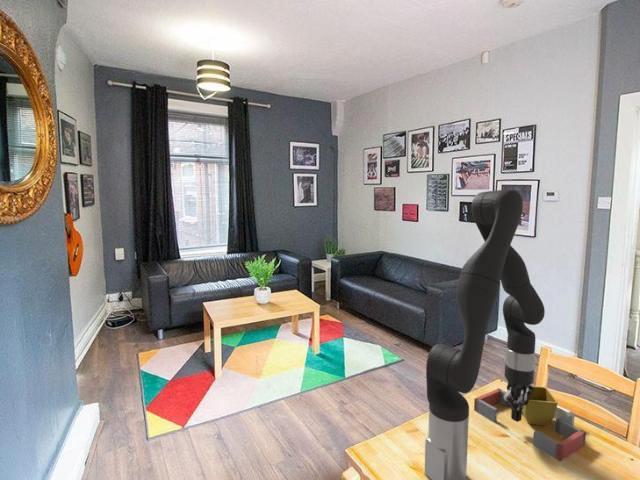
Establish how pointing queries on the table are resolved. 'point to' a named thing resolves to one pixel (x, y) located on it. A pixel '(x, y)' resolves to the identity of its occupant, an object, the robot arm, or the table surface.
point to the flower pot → (540, 407)
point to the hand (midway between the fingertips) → (516, 419)
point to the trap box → (544, 443)
